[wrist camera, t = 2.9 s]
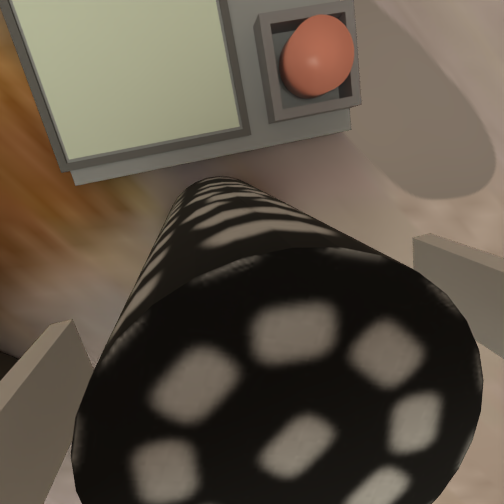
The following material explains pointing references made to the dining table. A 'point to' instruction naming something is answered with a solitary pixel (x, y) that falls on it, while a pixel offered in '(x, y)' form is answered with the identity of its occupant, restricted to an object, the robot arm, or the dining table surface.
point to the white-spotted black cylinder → (275, 368)
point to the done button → (316, 57)
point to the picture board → (169, 79)
